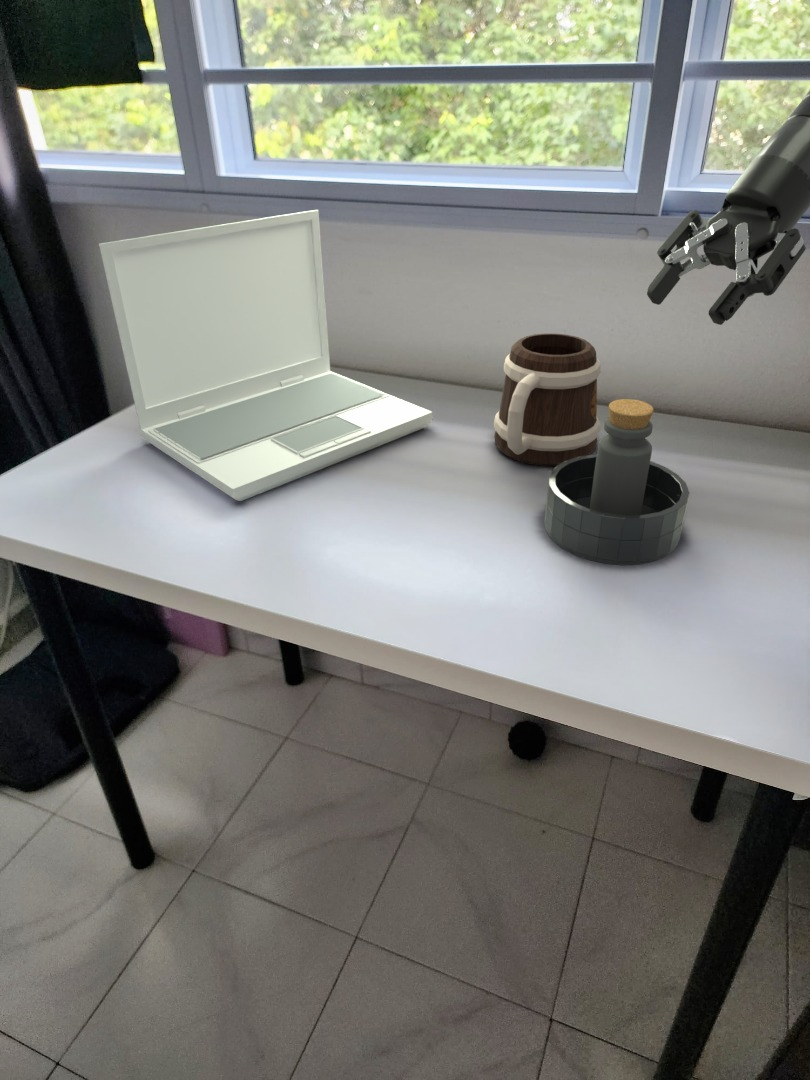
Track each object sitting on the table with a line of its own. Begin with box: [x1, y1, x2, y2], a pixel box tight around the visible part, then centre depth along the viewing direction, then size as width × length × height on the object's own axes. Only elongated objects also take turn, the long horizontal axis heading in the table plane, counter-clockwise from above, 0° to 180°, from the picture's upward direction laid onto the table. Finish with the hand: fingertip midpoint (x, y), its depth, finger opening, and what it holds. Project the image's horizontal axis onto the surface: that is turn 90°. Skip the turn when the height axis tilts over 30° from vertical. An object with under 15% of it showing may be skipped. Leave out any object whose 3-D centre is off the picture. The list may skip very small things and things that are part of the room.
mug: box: [493, 333, 602, 467], centre depth 103 cm, size 20×15×15 cm
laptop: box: [98, 209, 434, 502], centre depth 106 cm, size 35×26×28 cm
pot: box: [544, 453, 690, 566], centre depth 88 cm, size 16×16×6 cm
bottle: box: [590, 398, 654, 515], centre depth 85 cm, size 6×6×15 cm
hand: (681, 309), depth 78 cm, fingers open, 8 cm apart
